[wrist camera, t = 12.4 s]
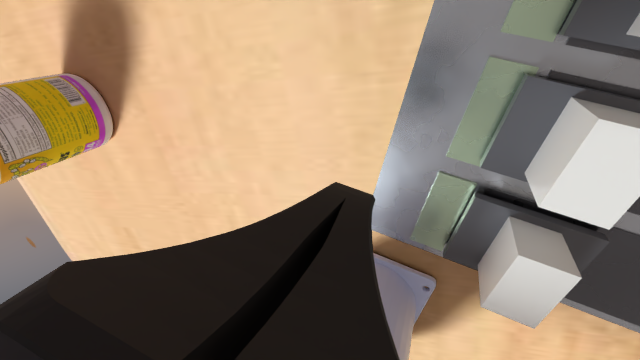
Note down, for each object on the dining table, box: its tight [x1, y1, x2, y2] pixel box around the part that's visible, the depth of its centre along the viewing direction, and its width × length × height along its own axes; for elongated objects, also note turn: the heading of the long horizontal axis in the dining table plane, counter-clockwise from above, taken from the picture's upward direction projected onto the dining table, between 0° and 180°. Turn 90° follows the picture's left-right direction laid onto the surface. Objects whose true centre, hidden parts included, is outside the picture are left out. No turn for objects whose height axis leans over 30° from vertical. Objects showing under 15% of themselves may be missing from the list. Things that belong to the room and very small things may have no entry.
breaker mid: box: [480, 73, 640, 230], centre depth 12 cm, size 4×6×4 cm
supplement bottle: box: [0, 73, 113, 184], centre depth 23 cm, size 7×7×13 cm
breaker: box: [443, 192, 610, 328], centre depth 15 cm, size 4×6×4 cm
